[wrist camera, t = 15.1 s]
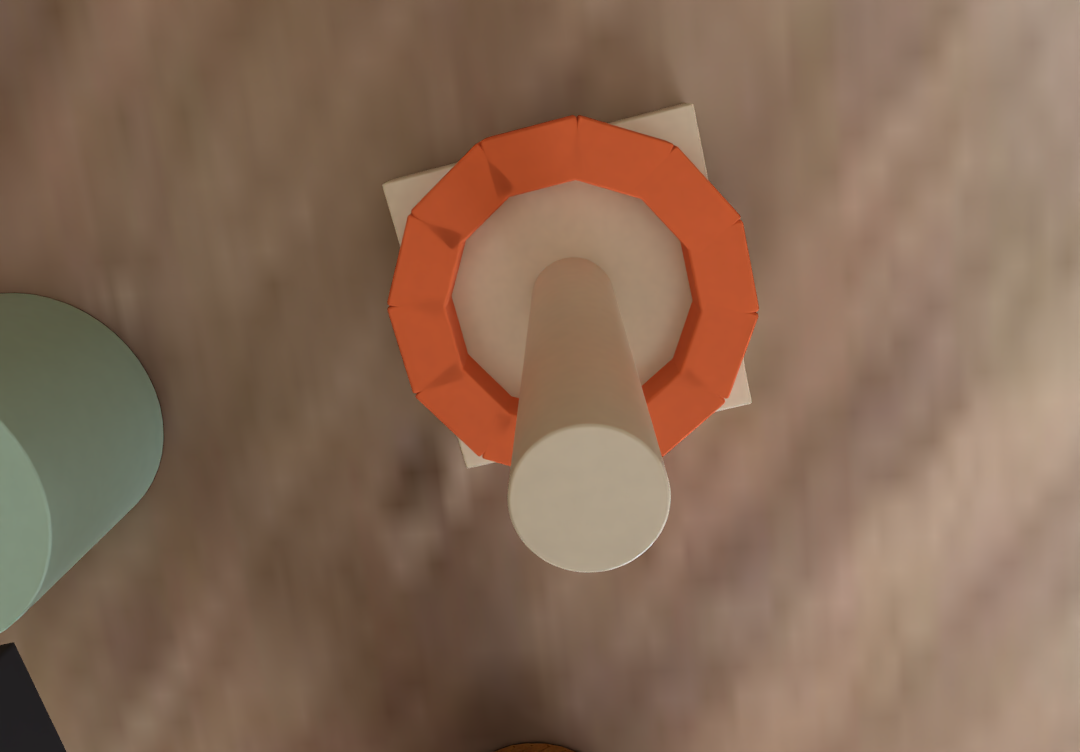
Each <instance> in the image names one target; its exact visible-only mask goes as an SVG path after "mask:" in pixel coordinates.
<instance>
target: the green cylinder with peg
mask: <svg viewBox="0 0 1080 752" xmlns="http://www.w3.org/2000/svg"><path fill="white" fill-rule="evenodd" d="M163 438H164V437H163V420H162V414H161V409H160V404H159V401H158V398H157V395H156V392H155V389H154V387H153V385H152V383H151V381H150V379H149V376H148V374H147V373H146V371H145V370H144V368H143V366H142V365H141V363H140V362H139V360H138V359H137V357H136V356H135V355H134V354H133V352H132V351H131V350H130V349H129V347H128V346H127V345H126V344H125V343H124V342H123V341H122V340H121V339H120V338H119V337H118V336H117V335H116V334H115V333H114V332H112V331H111V330H110V329H109V328H107V327H106V326H105V325H104V324H102V323H101V322H100V321H98V320H96V319H95V318H93V317H92V316H90V315H88V314H87V313H85V312H83V311H81V310H79V309H77V308H75V307H73V306H71V305H68V304H66V303H63V302H60V301H57V300H54V299H51V298H47V297H42V296H37V295H33V294H21V293H2V294H0V633H1V632H3V631H4V630H6V629H7V628H9V627H10V626H11V625H12V624H13V623H14V622H16V621H17V620H18V619H19V618H20V617H21V616H22V615H23V614H24V613H25V612H26V611H27V610H28V609H29V608H30V607H31V606H33V605H34V604H35V603H36V602H37V601H38V600H39V599H40V598H41V597H42V596H43V595H44V594H45V593H46V592H47V591H48V590H49V589H50V588H51V587H52V586H53V585H54V584H55V583H56V582H57V581H58V580H59V579H60V578H61V577H62V576H63V575H64V574H65V573H66V572H67V571H68V570H69V569H71V568H72V567H73V566H74V565H75V564H76V563H77V562H78V561H79V560H80V559H81V558H82V557H83V556H84V555H85V554H86V553H87V552H88V551H89V550H90V549H91V548H92V547H93V546H94V545H95V544H96V543H97V542H98V541H99V540H100V539H101V538H102V537H103V536H104V535H105V534H106V533H107V532H109V531H110V530H111V529H112V528H113V527H114V526H115V525H116V524H117V523H118V522H119V521H120V520H121V519H122V518H123V517H124V516H125V515H126V514H127V513H128V512H129V511H130V510H131V509H132V508H133V507H134V506H135V505H136V504H137V503H138V502H139V501H140V499H141V498H142V497H143V496H144V495H145V493H146V492H147V490H148V488H149V487H150V485H151V483H152V482H153V480H154V477H155V475H156V472H157V470H158V467H159V463H160V459H161V455H162V449H163Z"/></svg>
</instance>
